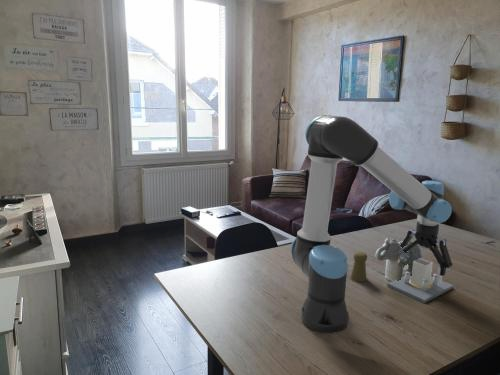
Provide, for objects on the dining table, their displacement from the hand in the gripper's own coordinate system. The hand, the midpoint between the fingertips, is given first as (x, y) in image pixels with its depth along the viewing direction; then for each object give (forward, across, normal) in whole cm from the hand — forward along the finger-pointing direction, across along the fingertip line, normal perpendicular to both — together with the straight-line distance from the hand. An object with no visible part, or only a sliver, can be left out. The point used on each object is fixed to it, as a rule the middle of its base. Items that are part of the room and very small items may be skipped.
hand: (421, 275), depth 142 cm
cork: (+5, +18, +14) cm, 23 cm away
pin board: (+5, 0, 0) cm, 5 cm away
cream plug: (+3, 0, 0) cm, 3 cm away
